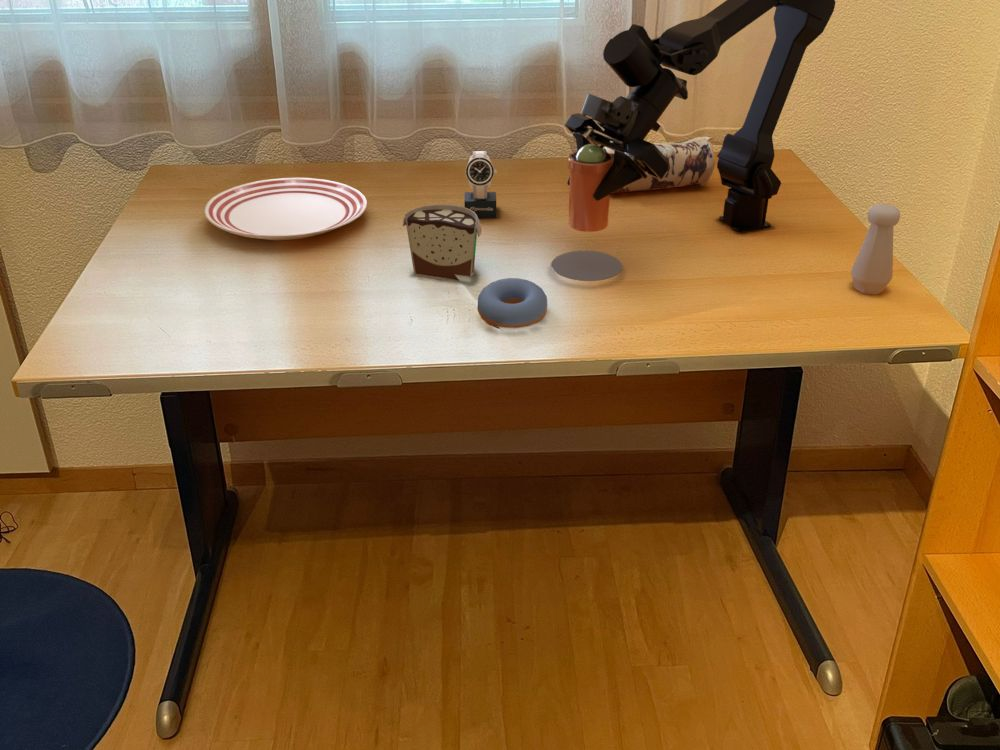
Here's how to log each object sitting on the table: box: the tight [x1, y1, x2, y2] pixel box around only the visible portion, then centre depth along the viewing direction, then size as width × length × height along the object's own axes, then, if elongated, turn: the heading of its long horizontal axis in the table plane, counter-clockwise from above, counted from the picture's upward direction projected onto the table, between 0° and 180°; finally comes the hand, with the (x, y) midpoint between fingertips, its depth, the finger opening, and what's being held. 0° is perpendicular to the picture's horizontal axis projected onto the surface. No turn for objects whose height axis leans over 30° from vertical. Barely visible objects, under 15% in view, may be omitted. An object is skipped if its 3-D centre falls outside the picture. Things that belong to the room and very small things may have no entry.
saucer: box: [550, 250, 623, 282], centre depth 153 cm, size 11×11×1 cm
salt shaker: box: [850, 203, 901, 295], centre depth 144 cm, size 6×6×13 cm
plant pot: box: [567, 144, 614, 233], centre depth 146 cm, size 7×7×12 cm
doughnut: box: [476, 277, 548, 330], centre depth 139 cm, size 10×10×5 cm
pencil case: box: [603, 136, 716, 194], centre depth 181 cm, size 22×8×10 cm, turn 101°
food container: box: [402, 203, 482, 283], centre depth 151 cm, size 12×6×10 cm, turn 71°
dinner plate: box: [204, 177, 368, 241], centre depth 170 cm, size 28×27×3 cm
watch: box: [464, 150, 498, 219], centre depth 170 cm, size 6×8×11 cm
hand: (582, 192), depth 145 cm, fingers closed on plant pot, 6 cm apart
